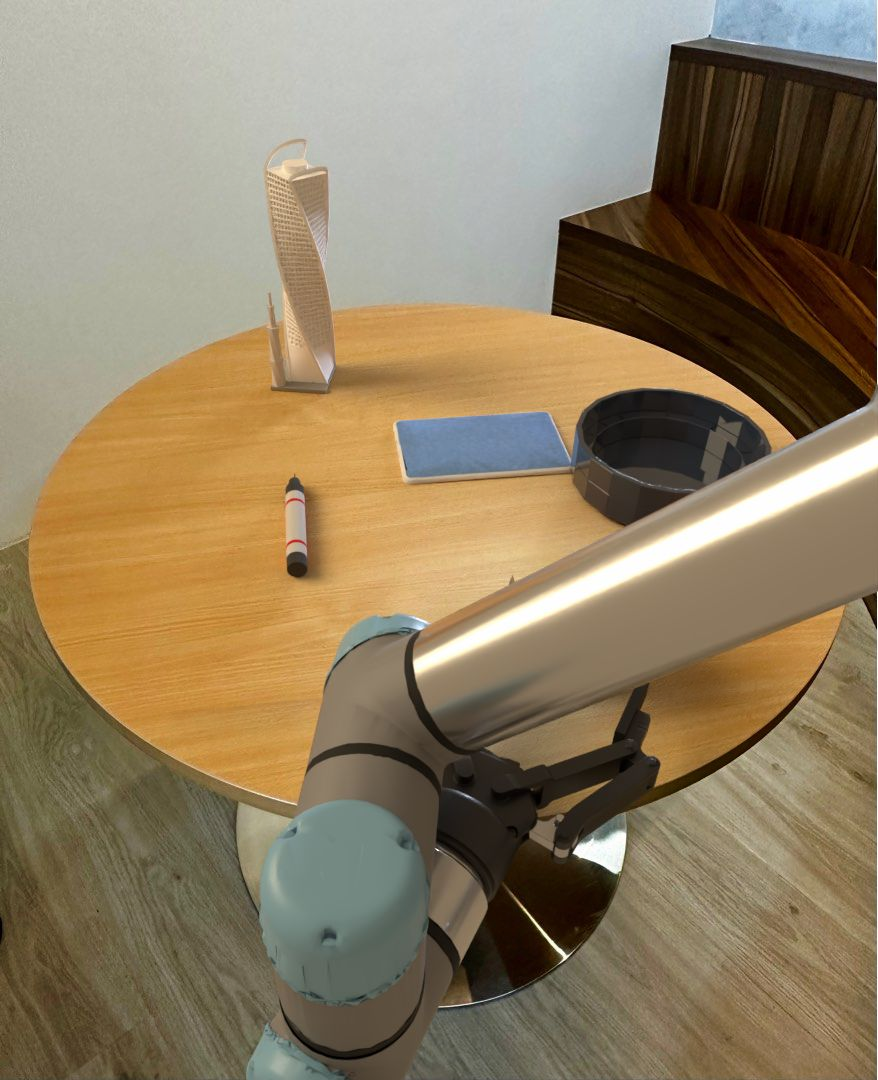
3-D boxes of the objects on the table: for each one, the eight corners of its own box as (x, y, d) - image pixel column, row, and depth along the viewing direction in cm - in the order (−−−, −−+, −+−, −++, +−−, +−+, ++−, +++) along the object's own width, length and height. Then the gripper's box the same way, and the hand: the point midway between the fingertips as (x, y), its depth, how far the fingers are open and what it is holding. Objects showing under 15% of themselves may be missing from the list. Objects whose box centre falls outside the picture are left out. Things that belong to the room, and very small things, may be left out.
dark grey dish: (733, 434, 105) (745, 390, 101) (778, 543, 90) (794, 496, 86) (563, 429, 105) (569, 385, 102) (579, 537, 90) (586, 489, 86)
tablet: (403, 489, 97) (403, 479, 96) (391, 427, 106) (391, 417, 105) (575, 477, 99) (576, 468, 98) (548, 417, 109) (549, 408, 108)
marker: (308, 576, 85) (306, 560, 83) (287, 578, 84) (285, 562, 83) (304, 482, 96) (302, 467, 95) (285, 483, 96) (284, 468, 95)
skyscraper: (286, 357, 118) (263, 134, 100) (346, 361, 117) (334, 138, 99) (270, 389, 111) (243, 157, 93) (334, 394, 111) (319, 161, 93)
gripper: (278, 823, 62) (421, 630, 76) (619, 995, 53) (707, 742, 68) (266, 757, 57) (422, 566, 72) (640, 935, 48) (730, 676, 63)
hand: (561, 651), depth 70 cm, fingers open, 13 cm apart
